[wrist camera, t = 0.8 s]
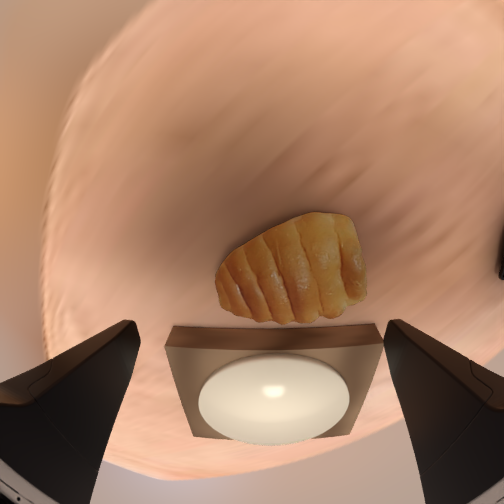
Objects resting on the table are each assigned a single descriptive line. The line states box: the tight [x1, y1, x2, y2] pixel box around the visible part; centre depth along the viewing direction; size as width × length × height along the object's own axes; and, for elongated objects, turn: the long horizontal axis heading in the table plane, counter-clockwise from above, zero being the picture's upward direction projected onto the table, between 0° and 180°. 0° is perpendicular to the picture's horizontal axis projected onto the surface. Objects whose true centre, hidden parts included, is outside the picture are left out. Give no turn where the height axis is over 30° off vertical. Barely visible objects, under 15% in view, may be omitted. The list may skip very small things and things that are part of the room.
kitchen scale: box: [165, 324, 384, 446], centre depth 21 cm, size 16×13×3 cm
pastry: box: [215, 212, 367, 325], centre depth 16 cm, size 9×7×4 cm
